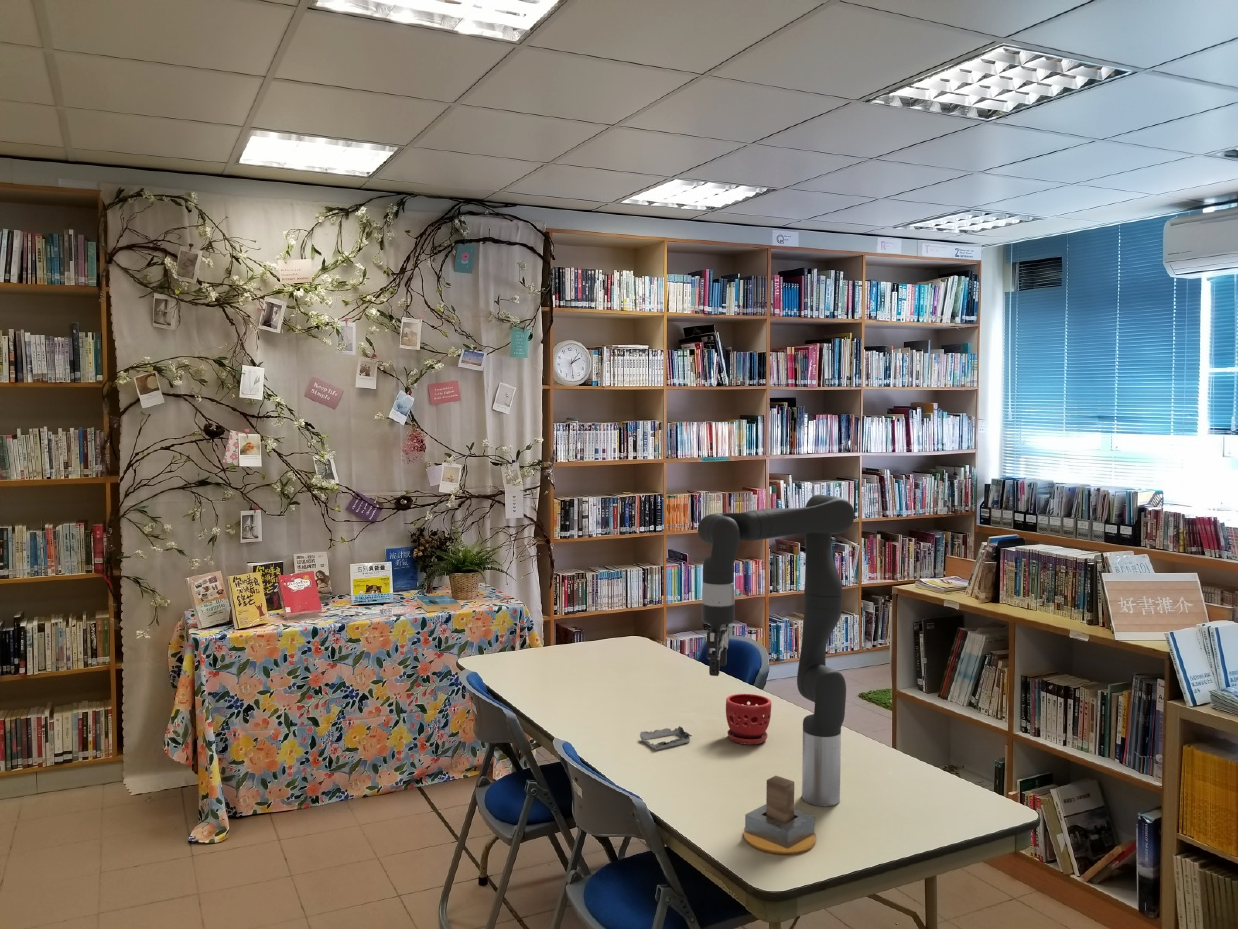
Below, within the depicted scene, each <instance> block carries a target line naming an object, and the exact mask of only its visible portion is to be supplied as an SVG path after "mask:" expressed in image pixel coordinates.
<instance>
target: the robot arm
mask: <svg viewBox="0 0 1238 929" xmlns="http://www.w3.org/2000/svg"><path fill="white" fill-rule="evenodd" d="M855 517H856V516H855V510H854V507H853V505H852V504H851V503H850V502H849V501H848V500H847V499H845V498H843V497H841V496H835V495H828V494H815V495H813V496H811V497H810V498H809V499H808V500H807V501H806V504H805V507H794V508H793V507H789V508H788V507H787V508H786V507H784V508H783V507H782V508H781V507H779V508H763V509H762V508H761V509H754V510H747V511H743V512H719V513H718V512H717V513H711V514H707V515H705V516H704V517H703V518H701V520H700V521H699V523H698V525H697V533H698V536H699V538H700V539H701V540H702V542H704V543H706V544H709V545H712V547H711V554H710V555H709V556H707V557H705V558H704V560H703V564H702V565H703V566H702V570H703V571H702V589H701V620H702V622H703V623H705V624H709V625H710V630H708V631H707V632H706V654H705V657H706V659H708V661H709V662H708V664H709V665H708V666H709V676H711V677H718V676H719V675H720V667H725V666H726V665H727V650H728V648H729V644H730V624H733V623H734V622H735V620H736V617H735V612H736V611H735V608H736V607H735V605H736V604H735V603H736V602H735V601H736V600H735V598H736V596H735V593H736V592H735V582H734V580H735V579H734V578H735V577H734V575H735V574H734V573H735V572H734V571H735V569H734V565H735V560H736V557H737V554H738V549H739V546H740V545H739V544H740V541H744V542H754V541H760V540H767V539H768V540H769V539H774V538H780V537H787V536H792V535H793V536H794V535H803V534H804V542H805V543H804V544H805V545H804V546H805V561H804V562H805V563H804V565H805V566H804V567H805V568H804V570H805V571H804V572H805V573H804V576H805V577H804V587H803V588H804V589H803V591H804V592H803V619H802V636H801V637H802V638H801V646H800V654H799V660H798V668H797V674H796V676H797V677H796V686H797V690H798V692H799V694H800V695H801V696H802V697H803V698H805V699H806V700H808V701H810V702H813V703H814V711H813V713H812V714H809V715H808V714H807V716H805V717H804V718H803V720H802V765H801V766H802V770H801V771H802V772H801V773H802V774H801V775H802V777H801V798H802V800H803V801H805V802H806V803H808V804H809V805H814V806H818V807H819V806H820V807H830V806H831V807H832V806H835V805H838V804H839V803H840V800H841V756H842V753H841V751H842V747H841V746H842V742H841V741H842V740H841V739H842V725H843V723H844V721H845V713H846V700H847V699H846V698H847V684H846V680H845V677H844V675H843V673H841V672H840V671H838V670H837V669H834V668H831V667H829V666H827V665H826V658H827V657H826V655H827V654H826V653H827V645H828V641H829V639H830V637H831V635H832V633H833V632H834V630H835V628H836V626H838V623H839V621H840V620H841V619H840V618H841V615H842V610H843V584H842V581H841V577H840V573H839V572H838V568H837V566H836V562H835V560H834V556H833V553H832V535H839V534H843V533H845V532H847V531H848V530H849V529H850V528H851V527H852V525H853V523H854V521H855ZM713 651H715V653H713Z"/></svg>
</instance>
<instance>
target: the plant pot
mask: <svg viewBox="0 0 1238 929" xmlns="http://www.w3.org/2000/svg"><path fill="white" fill-rule="evenodd" d="M748 703H750V704H748ZM725 716H726V717H725V718H726V723H727V725H728V728H729V729H728V730H727V735H728V738H729V739H730V740H731V741H733V742H735V743H738V744H741V745H758V744H761V743H764V741H766V740H767V739H768V736H769V735H768V733H767V730H768V728H769V725H770V721H771V717H772V700H771V698H770V699H769V698H768V697H766V696H763V695H760V694H755V693H754V694H753V693H735V694H731V695H728V696H727V697H726V700H725Z"/></svg>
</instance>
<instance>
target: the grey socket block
mask: <svg viewBox="0 0 1238 929" xmlns="http://www.w3.org/2000/svg"><path fill="white" fill-rule="evenodd" d="M744 816H745V817H744V828H743V839H744V841H745V843H747V845H749V846H750V847H752V848H754V849H755V850H758V851H760V852H764V853H766V854H772V855H779V856H792V855H799V854H803V852H804V853H806V852H809V851H811V850H812V849H813V848H814V847H815V845H816V843H817V836H816V834H817V833H816V832H815V815H812V814H809V813H806V812H804V811H801V810H797V809H795V808H794V819H793V820H791V821H789V822H788V823H786V824H784V823H782V822H779V821H777V820H774V819H771V818H769V817H766V804H764V805H761V806H759V807H757V808H755V809H753V810H752V811H750V812H748V813H747V812H746V814H744Z"/></svg>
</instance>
